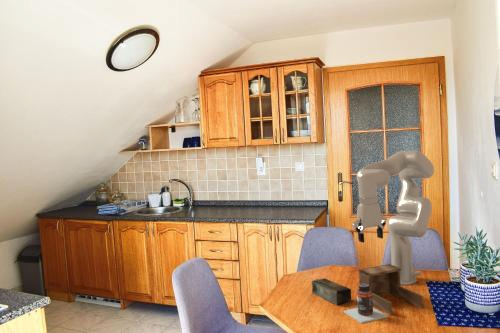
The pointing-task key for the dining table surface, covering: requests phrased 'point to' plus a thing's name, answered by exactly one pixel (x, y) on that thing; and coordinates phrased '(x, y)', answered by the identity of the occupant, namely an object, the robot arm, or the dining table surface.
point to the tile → (365, 318)
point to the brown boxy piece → (387, 286)
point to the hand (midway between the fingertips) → (370, 239)
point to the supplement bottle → (364, 300)
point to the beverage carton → (331, 291)
